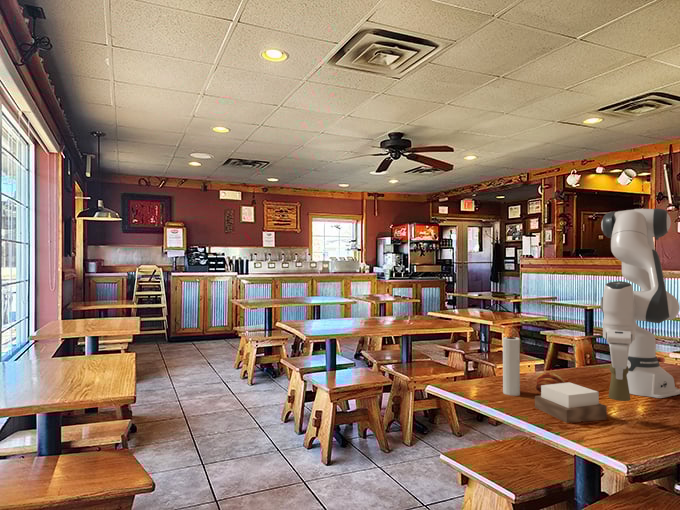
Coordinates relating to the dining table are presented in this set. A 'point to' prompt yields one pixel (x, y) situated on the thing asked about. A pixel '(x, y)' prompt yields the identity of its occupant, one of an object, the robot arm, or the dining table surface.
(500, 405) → the dining table surface
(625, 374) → the olive green pawn
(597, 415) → the tower base block
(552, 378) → the croissant
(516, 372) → the paper towel roll
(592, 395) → the tower top block
